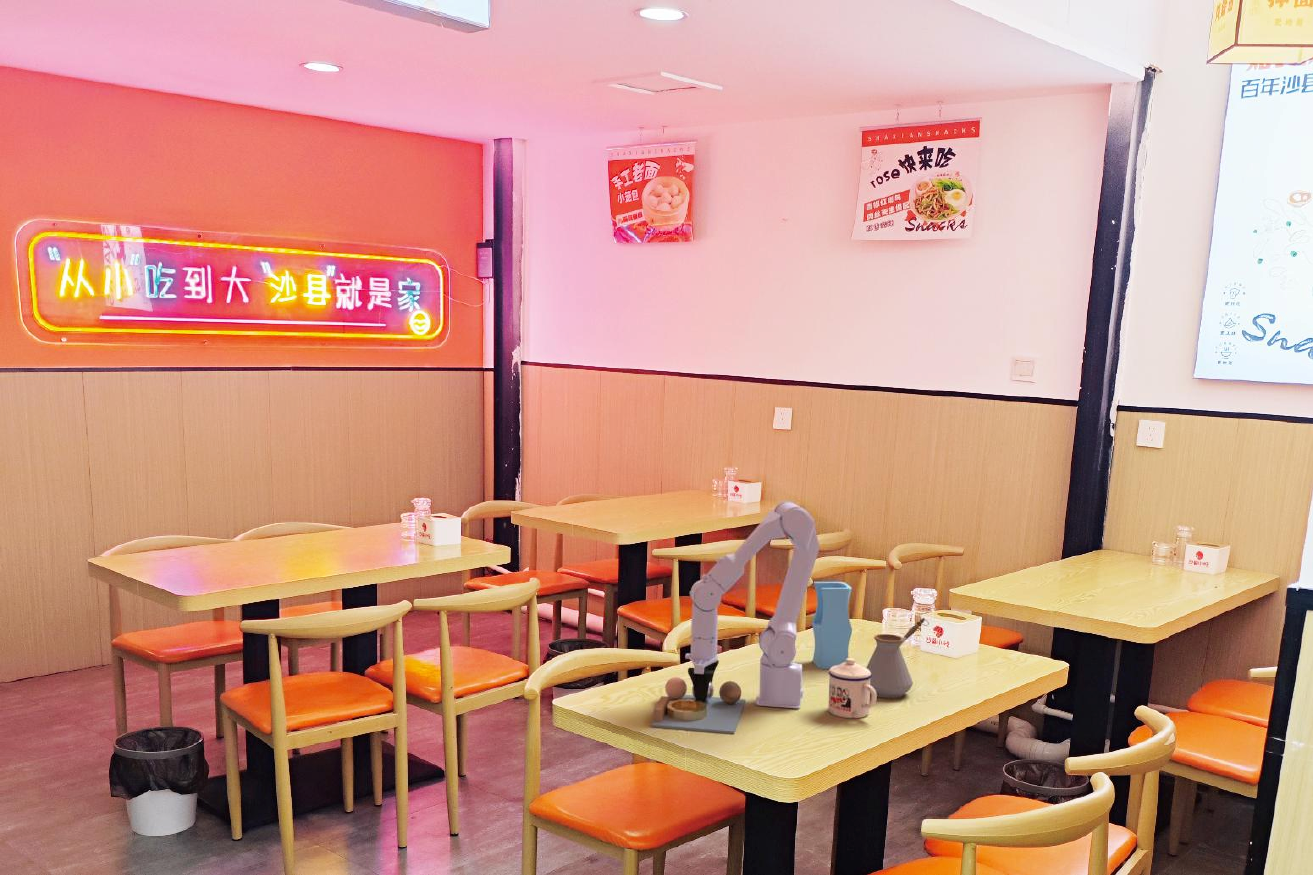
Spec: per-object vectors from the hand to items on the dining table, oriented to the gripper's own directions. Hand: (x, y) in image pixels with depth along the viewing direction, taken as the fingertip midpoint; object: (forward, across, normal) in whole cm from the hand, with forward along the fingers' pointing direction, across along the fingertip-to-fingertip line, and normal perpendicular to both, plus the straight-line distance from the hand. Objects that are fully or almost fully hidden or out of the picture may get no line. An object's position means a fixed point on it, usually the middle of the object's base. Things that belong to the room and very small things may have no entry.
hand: (702, 697), depth 235 cm
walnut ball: (-2, 0, +6) cm, 6 cm away
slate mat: (+1, +7, 0) cm, 7 cm away
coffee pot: (+2, -22, +42) cm, 48 cm away
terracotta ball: (-2, 0, -6) cm, 6 cm away
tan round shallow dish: (+1, +9, -2) cm, 10 cm away
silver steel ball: (-2, 0, 0) cm, 2 cm away
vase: (+2, -38, +26) cm, 46 cm away
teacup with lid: (+2, -1, +32) cm, 33 cm away
